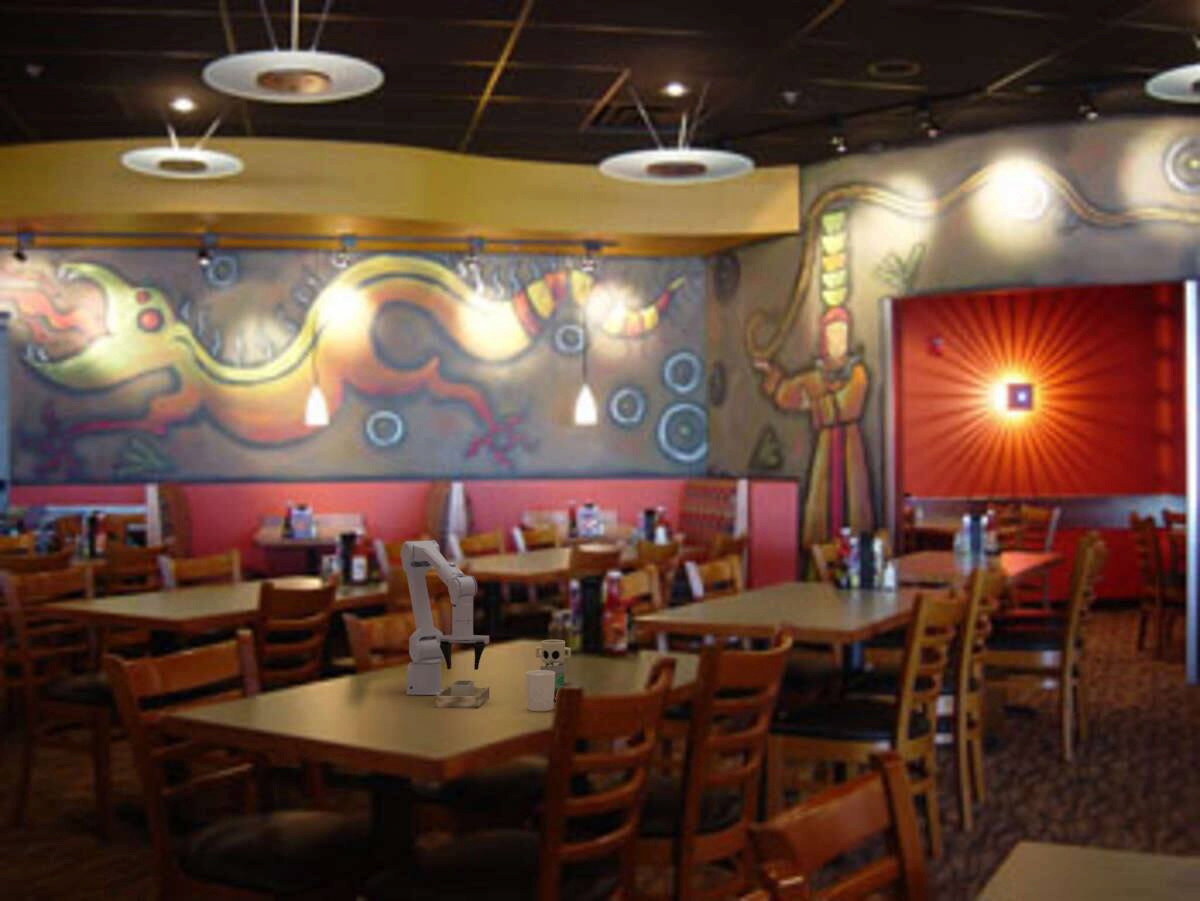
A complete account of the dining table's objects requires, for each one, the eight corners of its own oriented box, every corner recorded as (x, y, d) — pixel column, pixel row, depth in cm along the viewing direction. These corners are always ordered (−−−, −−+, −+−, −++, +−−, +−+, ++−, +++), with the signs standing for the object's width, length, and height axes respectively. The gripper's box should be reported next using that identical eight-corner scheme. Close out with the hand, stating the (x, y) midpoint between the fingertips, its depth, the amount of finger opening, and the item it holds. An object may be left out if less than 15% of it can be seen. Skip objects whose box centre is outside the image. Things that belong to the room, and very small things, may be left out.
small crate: (450, 703, 384) (450, 684, 384) (456, 698, 392) (456, 680, 392) (468, 703, 384) (468, 685, 384) (474, 698, 392) (474, 680, 392)
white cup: (535, 713, 372) (535, 675, 372) (520, 708, 379) (520, 671, 379) (560, 710, 376) (560, 673, 376) (546, 705, 383) (546, 669, 383)
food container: (561, 703, 387) (561, 667, 387) (540, 702, 388) (539, 666, 388) (571, 695, 399) (571, 660, 399) (550, 695, 400) (550, 660, 400)
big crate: (435, 707, 380) (435, 696, 380) (447, 697, 396) (447, 686, 396) (478, 708, 379) (478, 697, 379) (489, 697, 395) (489, 687, 395)
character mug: (532, 685, 415) (532, 642, 415) (539, 682, 422) (539, 639, 422) (567, 687, 413) (567, 643, 413) (574, 683, 420) (573, 640, 420)
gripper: (433, 621, 385) (433, 670, 385) (485, 622, 383) (485, 671, 383) (439, 618, 392) (439, 666, 392) (490, 619, 390) (490, 667, 390)
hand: (462, 669), depth 388 cm, fingers open, 7 cm apart
